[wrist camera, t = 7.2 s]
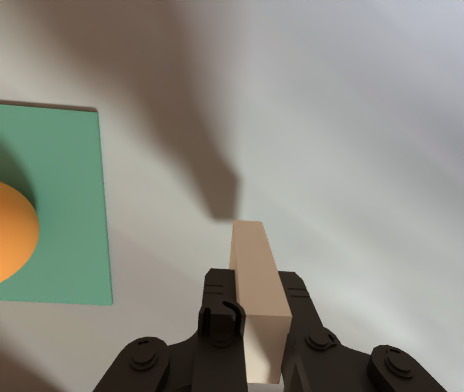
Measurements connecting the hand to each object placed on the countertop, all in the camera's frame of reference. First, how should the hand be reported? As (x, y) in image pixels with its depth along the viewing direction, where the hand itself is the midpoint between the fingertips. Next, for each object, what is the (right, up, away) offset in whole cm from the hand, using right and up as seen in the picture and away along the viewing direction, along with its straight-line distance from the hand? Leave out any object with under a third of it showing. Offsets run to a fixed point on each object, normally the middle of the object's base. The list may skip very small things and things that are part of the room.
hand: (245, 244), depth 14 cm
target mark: (-14, +2, +1) cm, 14 cm away
